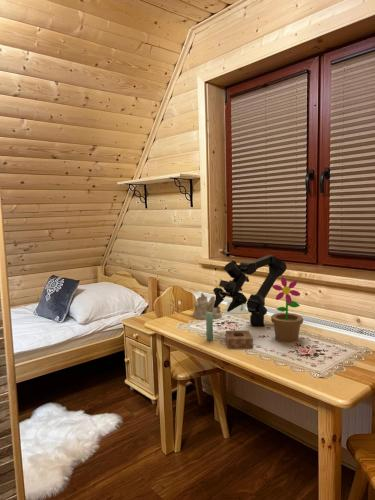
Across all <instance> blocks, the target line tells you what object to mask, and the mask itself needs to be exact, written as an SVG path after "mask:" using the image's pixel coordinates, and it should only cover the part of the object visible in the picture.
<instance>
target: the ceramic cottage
mask: <svg viewBox="0 0 375 500" xmlns="http://www.w3.org/2000/svg"><path fill="white" fill-rule="evenodd" d="M215 298H216V296H214V295H211V297H210V299H209V300H208V296H207V295H205V294H204V292H201V295H200V296H198V298H196V300H194V302H193V306H194V312H192V313H193V315H192V316H193V317H194V318H195V319H198V320H202V319H203V320H205V321H206V312H212V313H213V320H217V319H218V320H219V319H222V318H223V316H222V315H223V314H222V313H221V306H219V305H218V306H217V307H216V308H214V303H215Z"/></svg>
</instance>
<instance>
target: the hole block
mask: <svg viewBox="0 0 375 500" xmlns="http://www.w3.org/2000/svg"><path fill="white" fill-rule="evenodd" d="M225 342H226V346H227V349H235V348H239V349H240V348H243V349H244V348H247V349H249V348H254V339H253V336H252V334H251V331H250V330H248V329H247V330H246V329H245V330H225Z"/></svg>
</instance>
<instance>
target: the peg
mask: <svg viewBox="0 0 375 500" xmlns="http://www.w3.org/2000/svg"><path fill="white" fill-rule="evenodd" d="M205 321H206V323H205V324H206V325H205V327H206V341H207V342H212V341H213V340H214V329H213V328H214V326H213V325H214V324H213V323H214V319H213V313H212V312H206V319H205Z"/></svg>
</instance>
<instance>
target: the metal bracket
mask: <svg viewBox="0 0 375 500" xmlns="http://www.w3.org/2000/svg"><path fill="white" fill-rule="evenodd" d="M231 302H232V301H227V302H226V304H227V305H226V309H223V310H222V313H221V314H241V315H246V314H247V315H249V312H248V310H246V307H247V303H246V304H243V305H240V306H238V307H236V308H234V309H233V310H231V311H230V312H227V309H228V307H229V306H230V304H231Z"/></svg>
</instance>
